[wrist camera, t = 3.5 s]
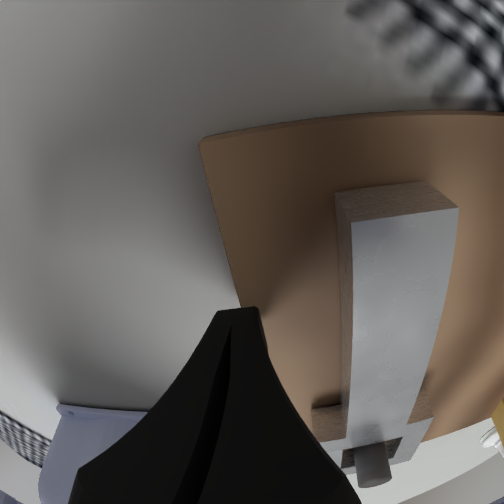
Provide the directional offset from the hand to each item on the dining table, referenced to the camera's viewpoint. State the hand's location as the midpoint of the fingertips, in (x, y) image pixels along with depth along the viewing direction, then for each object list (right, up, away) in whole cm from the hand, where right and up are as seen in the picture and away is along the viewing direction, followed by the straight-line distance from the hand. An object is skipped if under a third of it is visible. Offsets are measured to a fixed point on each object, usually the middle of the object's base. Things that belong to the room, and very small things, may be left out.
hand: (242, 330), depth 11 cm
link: (+6, -3, +2) cm, 7 cm away
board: (+11, -2, +3) cm, 11 cm away
